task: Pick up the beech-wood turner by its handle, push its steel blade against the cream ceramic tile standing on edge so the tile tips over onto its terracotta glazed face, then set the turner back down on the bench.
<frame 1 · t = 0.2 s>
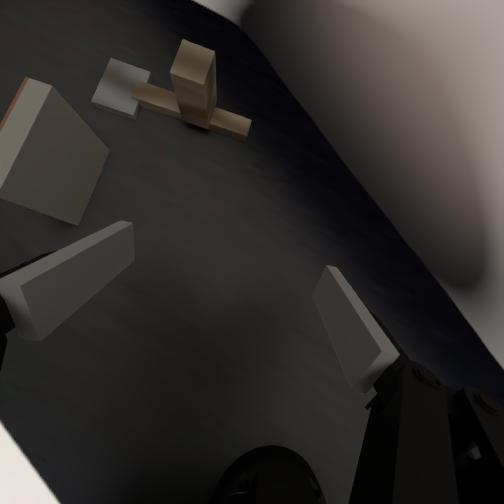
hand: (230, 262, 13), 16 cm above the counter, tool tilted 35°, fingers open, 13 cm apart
tile: (86, 184, 28), on the counter
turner: (200, 118, 32), on the counter
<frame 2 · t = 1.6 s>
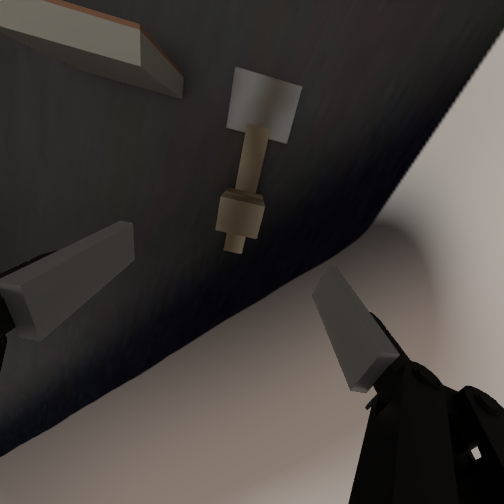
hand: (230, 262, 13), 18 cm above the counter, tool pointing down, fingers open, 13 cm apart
tile: (132, 72, 23), on the counter
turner: (243, 202, 30), on the counter
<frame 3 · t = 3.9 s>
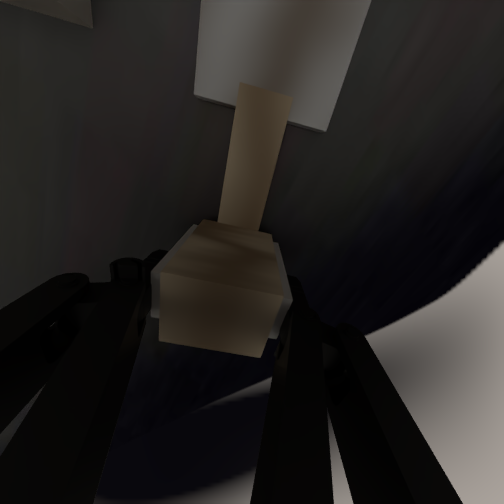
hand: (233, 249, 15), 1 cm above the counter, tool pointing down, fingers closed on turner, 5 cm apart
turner: (234, 242, 16), on the counter, touching gripper
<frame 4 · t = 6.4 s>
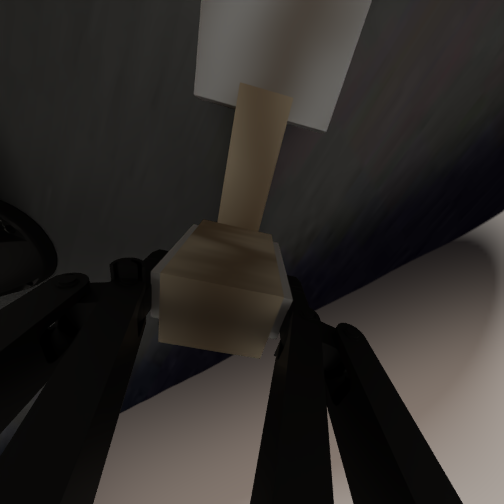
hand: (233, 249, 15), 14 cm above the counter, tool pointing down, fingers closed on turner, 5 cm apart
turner: (234, 243, 16), point 13 cm above the counter, touching gripper
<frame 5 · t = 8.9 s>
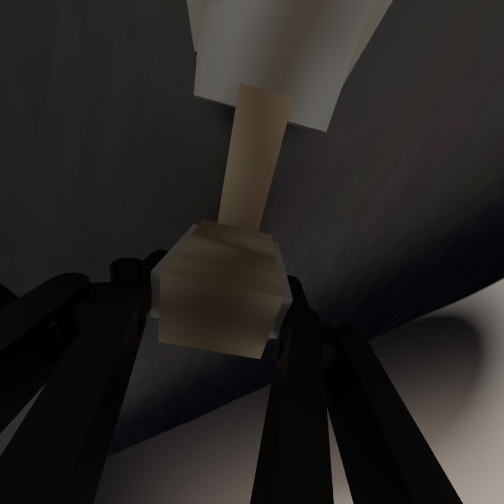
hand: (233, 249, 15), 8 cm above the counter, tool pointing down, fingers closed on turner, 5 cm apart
tile: (271, 61, 16), point 1 cm above the counter, tilted 35°
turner: (234, 243, 16), point 7 cm above the counter, touching gripper
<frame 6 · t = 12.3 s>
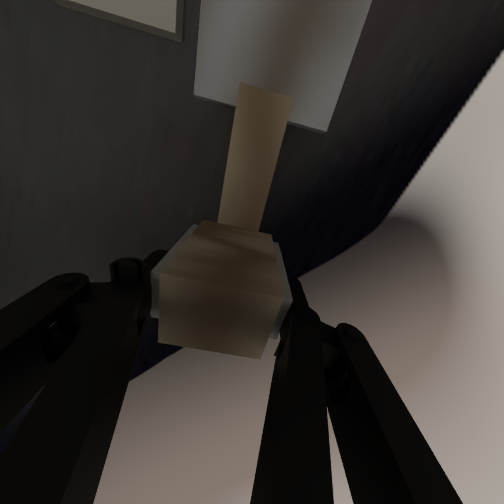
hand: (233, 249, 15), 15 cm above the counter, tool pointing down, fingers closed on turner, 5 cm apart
tile: (119, 21, 19), point 1 cm above the counter, tilted 90°
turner: (234, 243, 16), point 13 cm above the counter, touching gripper
when the fingers open (3 cm above the counter, at t = 15.1 s): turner drops 2 cm, on the counter.
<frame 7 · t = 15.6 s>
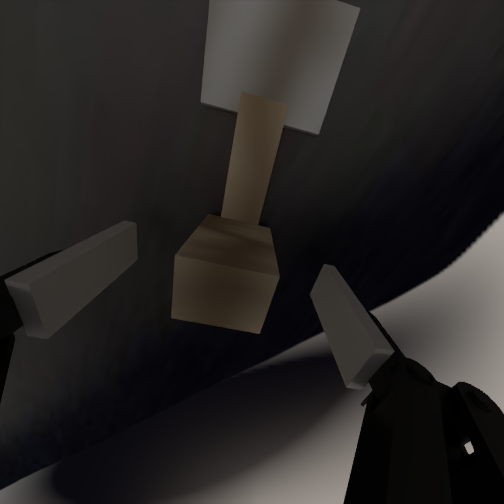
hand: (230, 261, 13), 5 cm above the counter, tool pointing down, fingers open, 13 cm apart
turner: (236, 236, 18), on the counter
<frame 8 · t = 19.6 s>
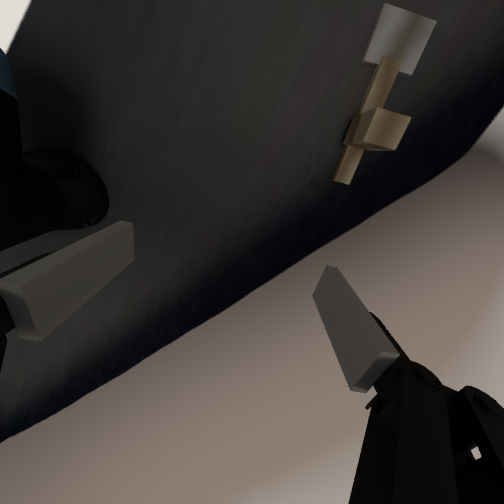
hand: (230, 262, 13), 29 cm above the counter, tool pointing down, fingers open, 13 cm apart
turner: (357, 135, 34), on the counter
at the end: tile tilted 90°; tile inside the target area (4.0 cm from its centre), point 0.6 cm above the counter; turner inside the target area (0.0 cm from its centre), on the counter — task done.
